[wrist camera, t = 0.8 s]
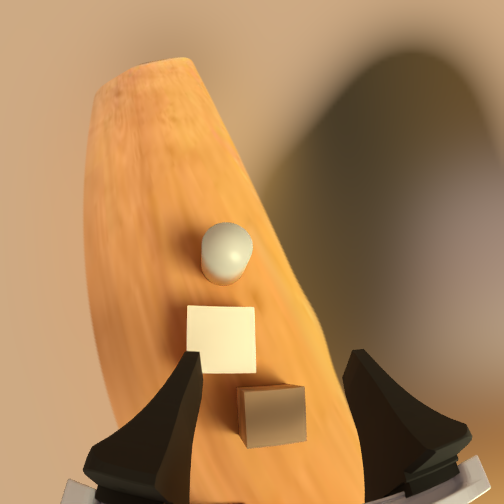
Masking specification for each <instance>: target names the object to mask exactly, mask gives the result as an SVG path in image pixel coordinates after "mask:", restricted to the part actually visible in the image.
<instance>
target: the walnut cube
mask: <svg viewBox="0 0 504 504" xmlns="http://www.w3.org/2000/svg"><path fill="white" fill-rule="evenodd" d="M236 388H237V408H238V427H239V436H240V438H241V439H242V441H243V443H244V444H245V446H246V447H247V449H249V448H260V447H270V446H278V445H285V444H292V443H298V442H304V441H307V433H306V407H305V387H303V386H296V385H290V384H281V385H269V386H255V387H236Z"/></svg>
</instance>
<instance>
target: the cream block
mask: <svg viewBox="0 0 504 504" xmlns="http://www.w3.org/2000/svg"><path fill="white" fill-rule="evenodd" d="M187 351H196V352H200V359H201V367H202V373H256V348H255V316H254V307H219V306H190V305H187Z"/></svg>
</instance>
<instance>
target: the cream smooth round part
mask: <svg viewBox="0 0 504 504" xmlns="http://www.w3.org/2000/svg"><path fill="white" fill-rule="evenodd" d="M252 250H253V244H252V240H251V237H250V235H249V234H248V232H247V231H246V230H245V229H243V228H242V227H241V226H239V225H237V224H234V223H227V222H226V223H219V224H216V225H214V226H212V227H211V228H209V229H208V230H207V232H206V233H205V235H204V237H203V240H202V253H201V268H202V272H203V274H204V276H205V277H206V278H207V279H208V280H209V281H210V282H212V283H214V284H216V285H220V286H227V285H231V284H233V283H235V282H236V281H238V280H239V279H240V277H241V276H242V274H243V272H244V270H245V267H246V265H247V263H248V261H249V259H250V256H251V254H252Z"/></svg>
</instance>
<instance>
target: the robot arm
mask: <svg viewBox="0 0 504 504" xmlns="http://www.w3.org/2000/svg"><path fill="white" fill-rule="evenodd" d="M342 378H343V384H344V389H345V394H346V398H347V401H348V404H349V407H350V410H351V413H352V416H353V419H354V422H355V426H356V429H357V432H358V436H359V441H360V447H361V453H362V460H363V469H364V482H365V503H364V504H468V503H470V502H471V501H473V500H474V499H476V498H477V497H479V496H480V495H482V494H483V493H485V492H486V491H488V490H489V489H490V488H491V486H490V484H489V481H488V479H487V477H486V474H485V472H484V469H483V467H482V465H481V462H480V460H479V458H478V456H477V455H475V456H473V457H471V458H470V459H468V460H466V461H464V462H462V463H461V464H459V465H458V466H457V464H456V461H458V457H457V454H458V453H459V452H460V451H461V450H462V449H463V448H465V446H467V445H468V443H469V442H470V441H471V440H472V435H471V433H470V431H469V429H468V427H467V425H466V424H464V423H461V422H459V421H456V420H453V419H450V418H448V417H446V416H444V415H441V414H440V413H438V412H436V411H434V410H433V409H431V408H429V407H428V406H426V405H424V404H423V403H421V402H420V401H418V400H417V399H416V398H414V397H413V396H412V395H410V394H409V393H408V392H407V391H405V390H404V389H403V388H402V387H401V386H399V385H398V384H397V383H396V382H395V381H394V380H393V379H392V378H391V377H390V376H389V375H388V374H387V373H386V372H385V371H384V370H383V369H382V368H381V367H380V366H379V365H378V364H377V363H376V362H375V361H374V360H373V359H372V357H371V356H370V355H369V354H368V353H367V352H366V351H365V350H364V349H360V350H353V351H352V353H351V355H350V358H349V361H348V364H347V367H346V369H345V372H344V375H343V377H342ZM202 387H203V375H202V367H201V359H200V352H196V351H186V352H185V353H184V354H183V356H182V358H181V360H180V362H179V363H178V365H177V366H176V368H175V370H174V371H173V373H172V374H171V376H170V377H169V378H168V380H167V381H166V383H165V384H164V385H163V387H162V388H161V389H160V390H159V392H158V393H157V394H156V395H155V397H154V398H153V399H152V400H151V401H150V402H149V403H148V404H147V406H146V407H145V408H144V409H143V410H142V411H141V412H139V413H138V414H137V415H136V416H135V417H134V418H133V419H132V420H131V421H129V422H128V423H127V424H126V425H124V426H123V427H122V428H120V429H119V430H118V431H116V432H115V433H114V434H112V435H111V436H109V437H108V438H106V439H104V440H102V441H101V442H99V443H97V444H96V445H94V446H92V448H91V450H90V452H89V454H88V456H87V459H86V462H85V465H84V468H83V472H84V474H85V475H86V476H88V477H89V478H90V479H91V480H92V481H94V482H95V483H96V484H98V487H97V490H96V489H93V488H91V487H89V486H87V485H84V484H81V483H79V482H76V481H74V480H71V479H68V482H67V484H66V488H65V491H64V494H63V497H62V501H61V504H189V492H190V469H191V454H192V443H193V437H194V432H195V427H196V422H197V417H198V413H199V408H200V403H201V398H202Z"/></svg>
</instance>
